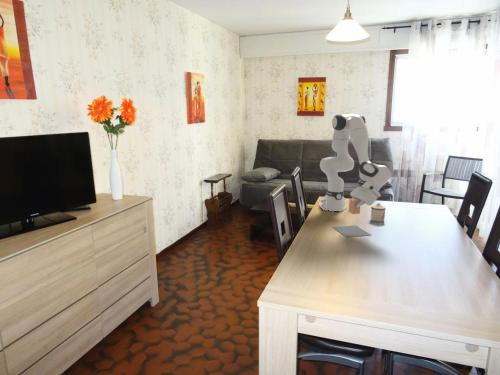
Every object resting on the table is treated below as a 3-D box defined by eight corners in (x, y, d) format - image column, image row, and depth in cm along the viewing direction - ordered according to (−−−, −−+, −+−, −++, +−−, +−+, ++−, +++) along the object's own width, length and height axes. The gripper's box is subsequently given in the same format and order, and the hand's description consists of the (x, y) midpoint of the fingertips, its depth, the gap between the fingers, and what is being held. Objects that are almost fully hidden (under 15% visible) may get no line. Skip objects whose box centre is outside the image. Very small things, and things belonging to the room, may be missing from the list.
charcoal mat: (332, 227, 217) (332, 227, 217) (355, 225, 221) (355, 225, 221) (346, 237, 200) (346, 236, 200) (371, 235, 204) (371, 234, 204)
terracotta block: (348, 211, 210) (349, 198, 208) (355, 211, 211) (356, 198, 209) (352, 214, 205) (353, 200, 204) (359, 213, 206) (360, 200, 205)
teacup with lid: (384, 222, 227) (386, 205, 224) (370, 221, 230) (371, 204, 227) (384, 217, 238) (385, 201, 235) (370, 216, 241) (371, 200, 238)
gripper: (357, 181, 216) (342, 198, 216) (376, 188, 197) (359, 206, 197) (363, 188, 218) (348, 204, 218) (382, 196, 198) (365, 213, 198)
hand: (353, 205), depth 207 cm, fingers closed on terracotta block, 5 cm apart
